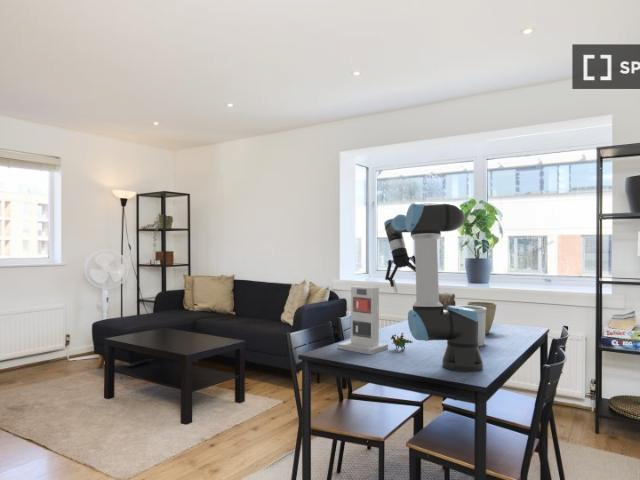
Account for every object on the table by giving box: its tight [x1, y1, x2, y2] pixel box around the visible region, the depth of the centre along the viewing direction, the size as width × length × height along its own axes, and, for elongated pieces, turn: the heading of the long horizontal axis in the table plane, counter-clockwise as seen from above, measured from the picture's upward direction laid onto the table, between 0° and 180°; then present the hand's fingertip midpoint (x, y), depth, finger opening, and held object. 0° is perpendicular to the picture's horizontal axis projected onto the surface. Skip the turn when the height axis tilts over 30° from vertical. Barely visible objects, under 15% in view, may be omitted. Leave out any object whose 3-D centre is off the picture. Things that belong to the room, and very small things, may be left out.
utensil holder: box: [457, 304, 486, 347], centre depth 219 cm, size 15×15×18 cm
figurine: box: [390, 332, 414, 352], centre depth 203 cm, size 3×12×8 cm, turn 45°
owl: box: [439, 292, 456, 310], centre depth 260 cm, size 13×13×20 cm
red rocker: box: [355, 299, 369, 312], centre depth 206 cm, size 2×8×5 cm, turn 39°
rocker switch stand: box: [337, 285, 389, 355], centre depth 207 cm, size 14×18×28 cm
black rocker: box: [353, 323, 371, 336], centre depth 206 cm, size 2×8×5 cm, turn 63°
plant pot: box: [467, 301, 497, 335], centre depth 247 cm, size 15×15×16 cm
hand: (409, 290), depth 220 cm, fingers open, 13 cm apart
